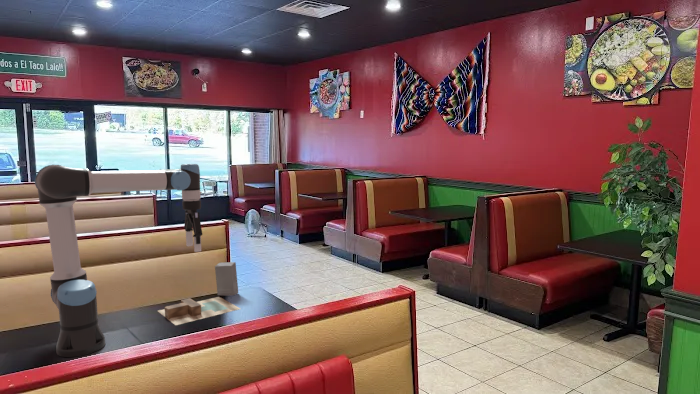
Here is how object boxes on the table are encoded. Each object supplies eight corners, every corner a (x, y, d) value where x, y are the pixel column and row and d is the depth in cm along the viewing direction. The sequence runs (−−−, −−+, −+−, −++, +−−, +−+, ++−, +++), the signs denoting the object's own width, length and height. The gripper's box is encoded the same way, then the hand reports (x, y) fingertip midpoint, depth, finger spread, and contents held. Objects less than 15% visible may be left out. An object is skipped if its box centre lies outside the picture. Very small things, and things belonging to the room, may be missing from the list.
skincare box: (238, 293, 228) (237, 261, 226) (233, 298, 221) (232, 265, 219) (221, 293, 229) (220, 261, 227) (216, 298, 221) (214, 265, 220)
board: (175, 328, 185) (175, 325, 185) (157, 313, 202) (157, 310, 202) (241, 311, 203) (241, 308, 203) (219, 299, 220) (219, 296, 220)
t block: (171, 321, 189) (171, 311, 189) (161, 313, 198) (161, 304, 198) (201, 314, 197) (201, 305, 196) (190, 307, 206) (190, 298, 206)
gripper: (208, 202, 194) (210, 252, 196) (192, 196, 215) (194, 242, 217) (190, 203, 190) (192, 255, 192) (175, 198, 211) (178, 244, 213)
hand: (193, 248), depth 205 cm, fingers open, 13 cm apart
